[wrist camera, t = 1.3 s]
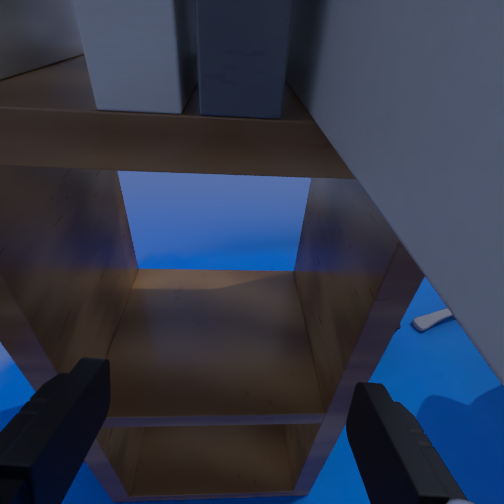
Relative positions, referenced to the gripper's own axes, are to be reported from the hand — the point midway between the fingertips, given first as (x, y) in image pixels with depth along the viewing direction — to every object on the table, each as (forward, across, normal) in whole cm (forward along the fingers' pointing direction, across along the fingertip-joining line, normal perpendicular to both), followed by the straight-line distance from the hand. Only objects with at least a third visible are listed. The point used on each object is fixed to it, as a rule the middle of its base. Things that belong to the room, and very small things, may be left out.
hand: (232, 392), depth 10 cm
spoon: (+30, -30, +11) cm, 44 cm away
